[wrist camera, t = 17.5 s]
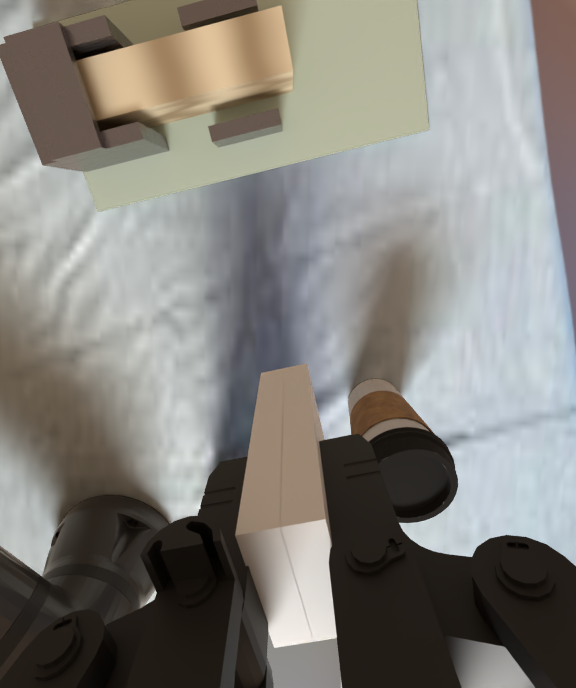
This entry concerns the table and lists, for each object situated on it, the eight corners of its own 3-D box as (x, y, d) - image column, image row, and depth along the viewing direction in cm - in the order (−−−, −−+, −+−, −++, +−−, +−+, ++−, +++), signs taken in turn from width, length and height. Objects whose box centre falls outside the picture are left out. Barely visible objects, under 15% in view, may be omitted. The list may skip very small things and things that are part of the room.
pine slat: (100, 140, 36) (65, 128, 31) (83, 91, 35) (44, 69, 29) (292, 91, 35) (293, 70, 29) (282, 38, 34) (281, 5, 28)
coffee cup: (355, 357, 44) (386, 430, 30) (423, 382, 45) (485, 465, 31) (325, 420, 46) (341, 514, 32) (390, 442, 47) (433, 543, 33)
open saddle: (218, 147, 36) (211, 142, 33) (187, 27, 33) (177, 7, 30) (282, 131, 36) (281, 124, 33) (257, 7, 33) (253, -15, 30)
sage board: (99, 211, 39) (97, 211, 38) (33, 31, 34) (30, 29, 33) (427, 130, 36) (429, 129, 36) (407, -77, 31) (409, -80, 31)
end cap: (140, 51, 34) (99, 9, 27) (169, 150, 37) (139, 137, 29) (51, 76, 35) (-13, 41, 27) (86, 172, 37) (36, 164, 30)
